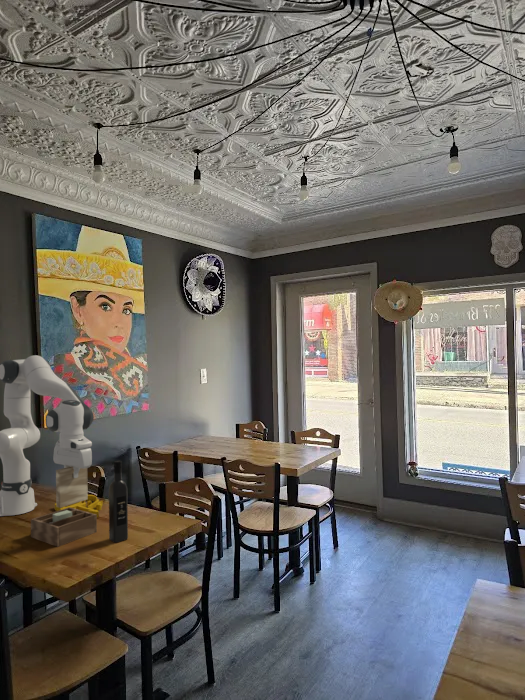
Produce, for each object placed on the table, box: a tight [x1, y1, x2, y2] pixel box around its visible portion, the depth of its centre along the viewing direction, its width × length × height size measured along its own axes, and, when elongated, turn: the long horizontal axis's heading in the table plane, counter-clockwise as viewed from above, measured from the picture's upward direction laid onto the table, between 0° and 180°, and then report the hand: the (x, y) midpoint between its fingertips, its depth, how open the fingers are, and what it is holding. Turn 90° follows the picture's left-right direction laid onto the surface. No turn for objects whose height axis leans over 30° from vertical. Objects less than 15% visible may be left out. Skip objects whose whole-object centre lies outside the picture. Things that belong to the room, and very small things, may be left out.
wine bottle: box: [108, 460, 129, 544], centre depth 176 cm, size 6×6×30 cm
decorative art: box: [54, 494, 104, 519], centre depth 212 cm, size 21×3×30 cm
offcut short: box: [53, 510, 72, 522], centre depth 181 cm, size 4×6×3 cm, turn 142°
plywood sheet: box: [55, 466, 89, 508], centre depth 179 cm, size 2×12×14 cm, turn 147°
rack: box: [30, 507, 98, 548], centre depth 182 cm, size 18×17×7 cm
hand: (72, 477), depth 179 cm, fingers closed on plywood sheet, 2 cm apart
